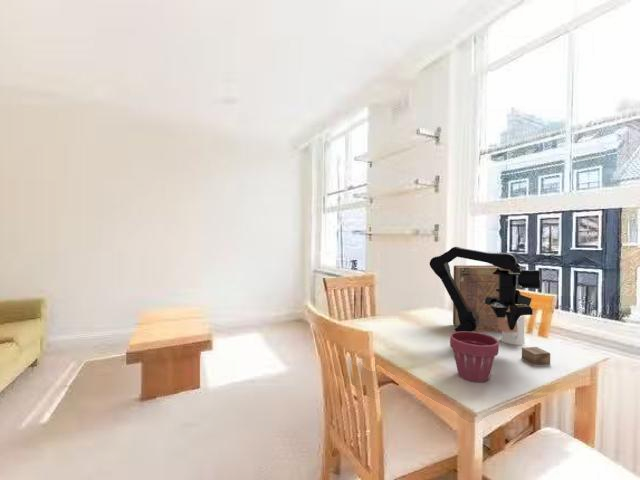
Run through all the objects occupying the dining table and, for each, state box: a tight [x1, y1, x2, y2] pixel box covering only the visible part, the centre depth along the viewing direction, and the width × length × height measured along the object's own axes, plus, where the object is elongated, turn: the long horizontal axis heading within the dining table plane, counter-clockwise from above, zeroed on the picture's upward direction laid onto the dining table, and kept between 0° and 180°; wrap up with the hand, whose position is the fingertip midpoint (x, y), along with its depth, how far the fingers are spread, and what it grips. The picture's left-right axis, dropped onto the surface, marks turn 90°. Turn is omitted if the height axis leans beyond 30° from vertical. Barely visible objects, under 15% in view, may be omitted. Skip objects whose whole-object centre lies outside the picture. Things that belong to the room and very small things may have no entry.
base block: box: [521, 346, 551, 366], centre depth 115 cm, size 6×6×4 cm
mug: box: [500, 315, 526, 346], centre depth 134 cm, size 12×8×12 cm
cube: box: [498, 317, 517, 333], centre depth 120 cm, size 4×4×4 cm
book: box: [452, 264, 514, 332], centre depth 155 cm, size 25×9×30 cm, turn 84°
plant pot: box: [449, 331, 500, 383], centre depth 104 cm, size 14×14×13 cm
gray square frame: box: [520, 357, 552, 367], centre depth 115 cm, size 8×8×1 cm
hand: (507, 327), depth 121 cm, fingers closed on cube, 4 cm apart
